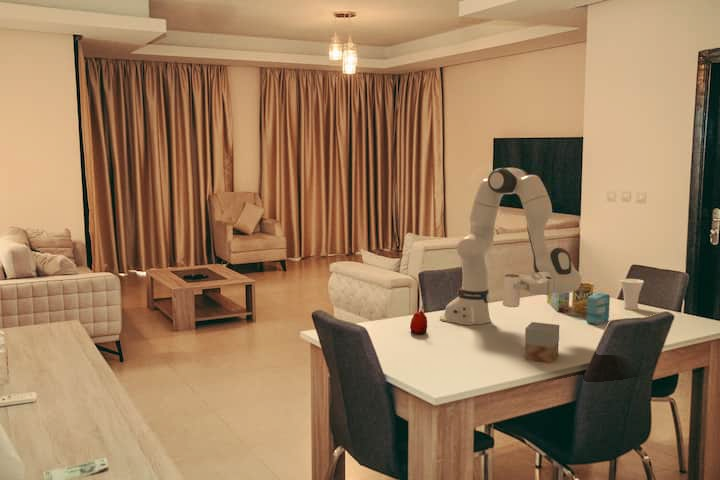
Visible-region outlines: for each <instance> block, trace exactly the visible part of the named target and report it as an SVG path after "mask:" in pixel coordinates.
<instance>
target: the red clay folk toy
mask: <svg viewBox="0 0 720 480" xmlns="http://www.w3.org/2000/svg"><path fill="white" fill-rule="evenodd" d="M425 300H426V298H424V300H420V301H421V302H422V305H421V310H420V311H419V312H415V313H414V314H413V316H412V318H411V321H410V326H409V329H410V334H412V333H414V334H415V335H418V334H419V335H425V334H427V330H428V320H427V319H428V318H427V316H426V314H425V312H424V311H423V309H424V304H427V303H428V301H427V300H426V301H425Z"/></svg>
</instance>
